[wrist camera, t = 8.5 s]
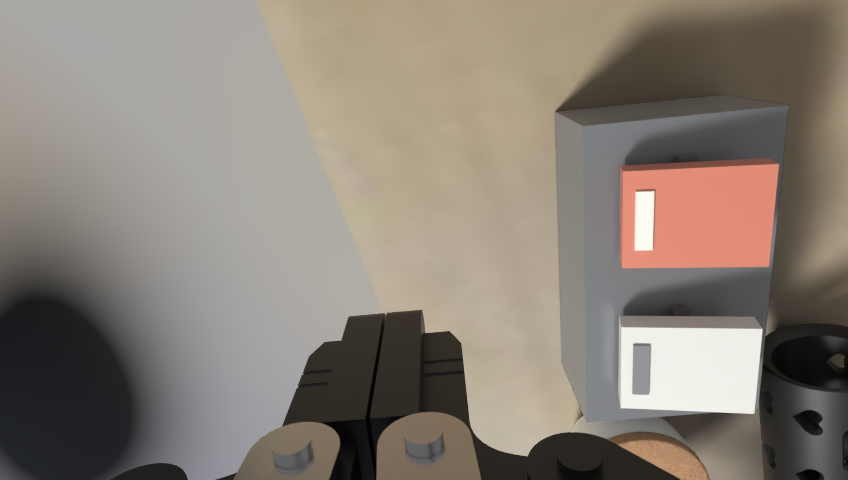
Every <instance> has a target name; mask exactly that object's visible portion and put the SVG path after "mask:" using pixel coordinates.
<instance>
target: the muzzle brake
mask: <svg viewBox="0 0 848 480" xmlns="http://www.w3.org/2000/svg"><path fill="white" fill-rule="evenodd" d="M835 354H842V355H844V356H845V358H844V365H845V367H844V368H840V367H838V366H836V365H835V364H834V363H832V362H831V361H830V360H829V358H831V357H832V356H833V355H835ZM759 410H760V425H761V439H762V453H763V468H764V480H848V327H846V326H841V325H832V324H802V325H797V326H789V327H784V328H779V329H777V330H776V331H774V332H772V333H770V334H768V335H767V336H765V345H764V355H763V365H762V375H761V384H760V394H759ZM844 459H845V460H846V462H845V463H844Z"/></svg>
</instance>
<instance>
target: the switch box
mask: <svg viewBox="0 0 848 480" xmlns="http://www.w3.org/2000/svg"><path fill="white" fill-rule="evenodd" d="M788 107H789V105H783V104H776V103H770V102H764V101H758V100H752V99H746V98H740V97H734V96H728V95H714V96H704V97H694V98H684V99H674V100H664V101H655V102H645V103H635V104H625V105H615V106H606V107H596V108H586V109H576V110H566V111H556V112H555V138H556V174H557V210H558V246H559V282H560V319H561V355H562V365H563V368H564V370H565V373H566V375H567V377H568V380H569V382H570V385H571V387H572V389H573V392H574V394H575V397H576V399H577V401H578V404H579V406H580V408H581V411H582V413H583V416H584V418H585V420H586V423H589V422H601V421H614V420H627V419H639V418H652V417H664V416H677V415H690V414H702V413H715V412H699V411H676V410H653V409H630V408H621V407H620V401H619V395H618V371H619V316H731V317H755V319H756V320H757V321H758V323H759V324H760V326H761V327H762V329H763V331H762V341H761V351H760V361H759V371H758V382H757V392H756V402H755V409H758V404H759V394H760V384H761V375H762V365H763V355H764V345H765V335H766V325H767V315H768V305H769V295H770V285H771V276H772V266H773V256H774V246H775V236H776V226H777V216H778V206H779V196H780V187H781V177H782V167H783V157H784V147H785V137H786V127H787V117H788ZM758 158H770V159H772V160H773V161H775V162H777V163H778V164H779V169H778V179H777V189H776V199H775V210H774V220H773V230H772V240H771V250H770V260H769V267H706V268H622V267H621V263H620V259H619V254H620V166H623V165H642V164H661V163H681V162H700V161H719V160H739V159H758Z"/></svg>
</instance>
